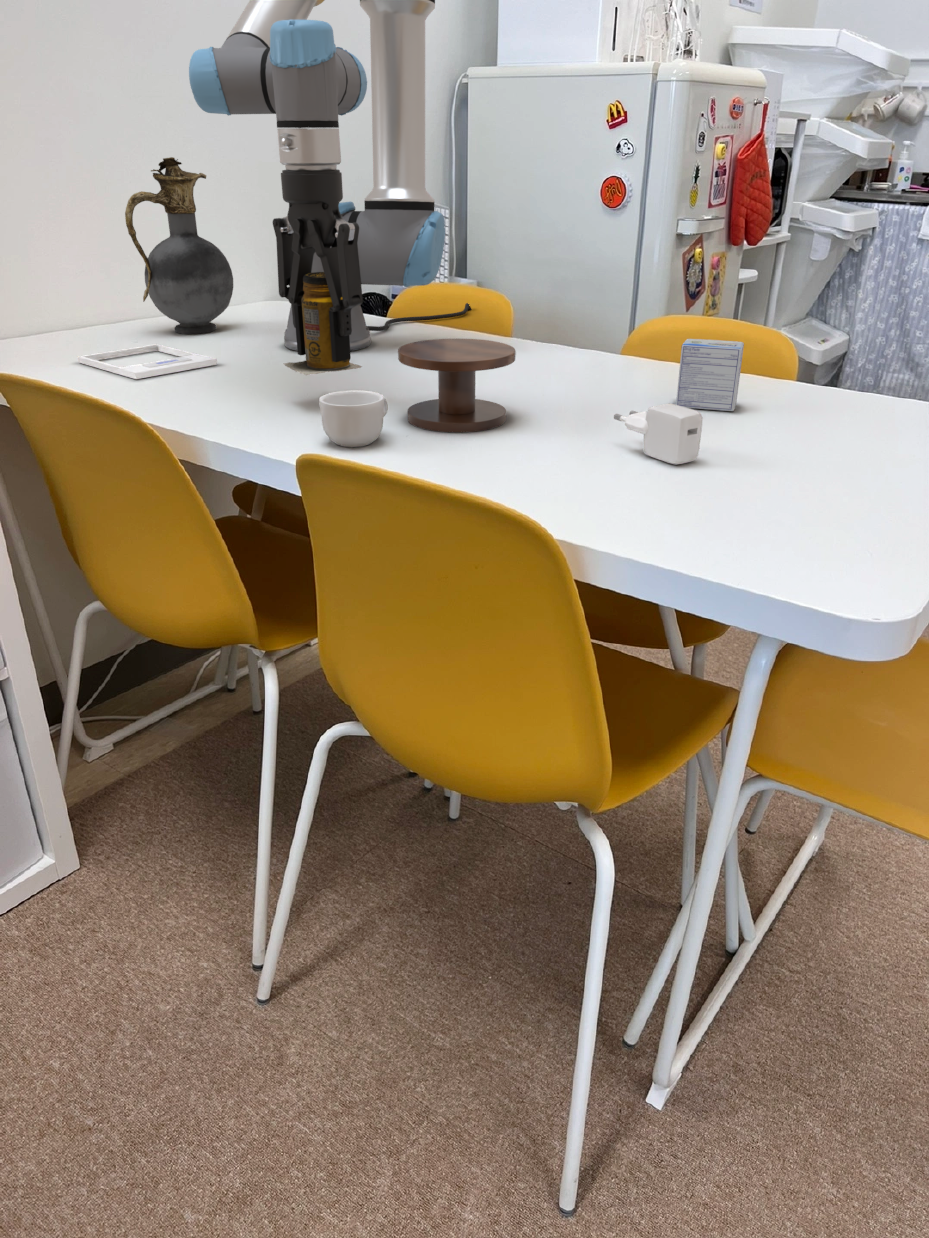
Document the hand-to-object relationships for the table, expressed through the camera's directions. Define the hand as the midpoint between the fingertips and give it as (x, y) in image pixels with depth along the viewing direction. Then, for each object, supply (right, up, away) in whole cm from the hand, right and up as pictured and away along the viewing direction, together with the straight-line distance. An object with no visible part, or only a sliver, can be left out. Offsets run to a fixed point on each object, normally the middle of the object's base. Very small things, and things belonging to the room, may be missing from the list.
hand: (323, 356), depth 127 cm
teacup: (+6, -14, -12) cm, 20 cm away
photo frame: (-33, +6, +26) cm, 42 cm away
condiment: (0, -1, +1) cm, 2 cm away
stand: (+18, -9, -3) cm, 21 cm away
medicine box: (+53, -6, +3) cm, 53 cm away
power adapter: (+41, -16, -17) cm, 47 cm away
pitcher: (-34, +19, +52) cm, 65 cm away
